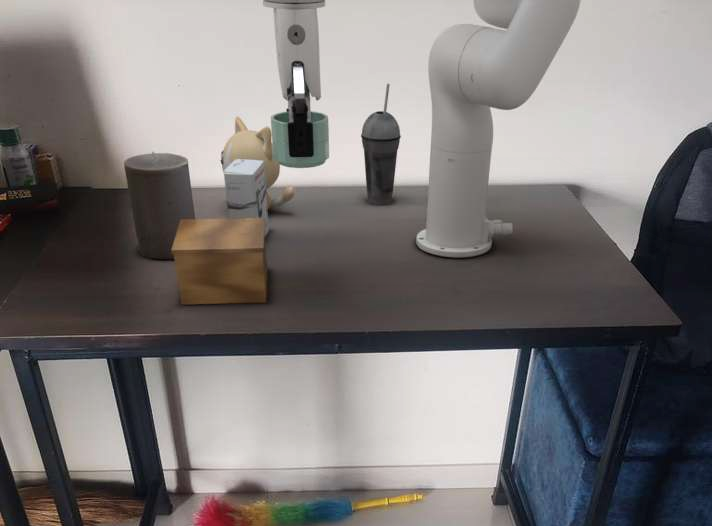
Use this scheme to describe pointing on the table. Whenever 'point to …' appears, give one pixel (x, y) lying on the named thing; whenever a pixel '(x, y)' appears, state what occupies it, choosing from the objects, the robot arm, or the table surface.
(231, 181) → the ink box
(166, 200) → the pillar candle
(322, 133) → the teal green pot
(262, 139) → the kitten
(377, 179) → the beverage cup
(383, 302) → the table surface
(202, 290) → the wooden stand
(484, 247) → the robot arm
